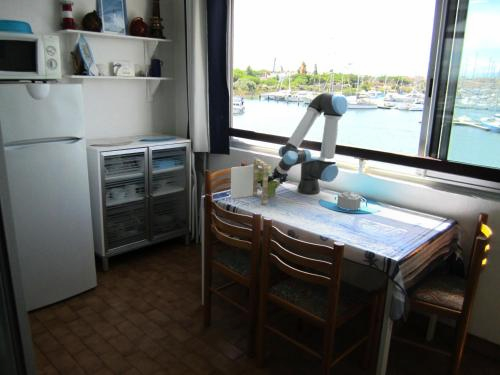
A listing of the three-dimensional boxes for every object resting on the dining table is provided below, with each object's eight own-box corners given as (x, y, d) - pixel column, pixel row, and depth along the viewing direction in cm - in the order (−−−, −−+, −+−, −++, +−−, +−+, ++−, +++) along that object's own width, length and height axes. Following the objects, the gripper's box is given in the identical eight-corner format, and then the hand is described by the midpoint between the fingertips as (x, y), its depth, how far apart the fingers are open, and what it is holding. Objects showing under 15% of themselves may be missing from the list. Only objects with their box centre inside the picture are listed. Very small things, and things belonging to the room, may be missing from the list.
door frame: (266, 204, 242) (268, 164, 235) (263, 205, 241) (264, 165, 234) (256, 194, 261) (257, 157, 254) (252, 195, 260) (253, 157, 253)
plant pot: (276, 197, 256) (276, 184, 254) (261, 196, 258) (262, 183, 256) (278, 193, 265) (278, 180, 263) (264, 192, 267) (264, 179, 265)
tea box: (246, 187, 278) (246, 166, 274) (250, 183, 287) (251, 163, 283) (267, 189, 274) (268, 168, 270) (271, 185, 283) (271, 165, 279)
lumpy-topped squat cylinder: (353, 211, 234) (355, 197, 231) (333, 206, 242) (334, 192, 239) (361, 207, 241) (363, 193, 239) (342, 202, 249) (343, 189, 247)
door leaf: (231, 198, 250) (231, 167, 245) (229, 196, 253) (229, 166, 247) (252, 195, 257) (253, 165, 251) (250, 194, 259) (251, 165, 254)
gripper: (267, 176, 239) (254, 194, 257) (299, 173, 249) (285, 190, 267) (263, 165, 242) (250, 184, 260) (295, 162, 252) (281, 181, 270)
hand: (268, 187), depth 263 cm, fingers open, 10 cm apart
